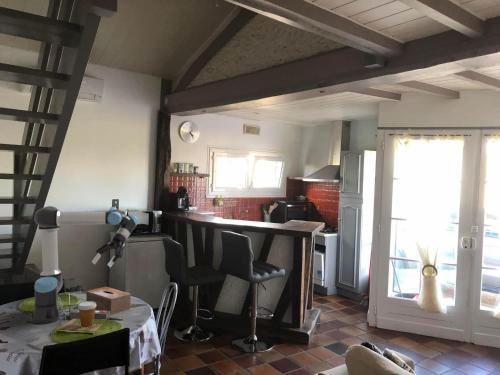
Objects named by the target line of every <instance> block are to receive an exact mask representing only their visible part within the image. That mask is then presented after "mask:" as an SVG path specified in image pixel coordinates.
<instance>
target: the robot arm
mask: <svg viewBox="0 0 500 375" xmlns="http://www.w3.org/2000/svg"><path fill="white" fill-rule="evenodd" d="M33 218H34V221H35V224H36V225H37V226H38V230H39V231H40V232H41V250H42V251H41V252H42V253H41V254H42V255H41V256H42V270H41V272H40V274H39V277H40V278H38V279H37V280H36V281H35V282H34V286H33V287H34V302H33V303H34V305H33V306H34V308H33V310H32V312H31V316H30V322H31V323H32V324H35V325H36V324H37V325H43V324H45V325H46V324H51V323H55V322H57V321H58V320H60V318H61V313H60V311H59V307H58V293H59V292H60V291H61V289H62V288H63V285H64V280H63V277H62V271H61V270H60V269H59V249H58V248H59V247H58V246H59V244H58V231H59V230H60V226H61V225H64V226H65V225H67V226H69V225H111V226H112V225H113V226H115V225H116V226H117V225H118V226H120V227H119V229H118V230H117V231H116V233H115V234H114V236H112V240H111V241H110V240H107V241H106V242H105V243H104V244H103V245H101V246H100V247H99V248H98V249H96V250H95V252H96V254H95V256H94V258H92V261H91V263H92V264H93V265H96V264H97V262H98V261H99V260H100V258H101V256H102V255H103V254H105V253H107V252H108V251H111V250H114V255H113V256H112V257H111V259H110V261H109V262H108V263H107V266H108V267H109V268H112V266H113V265H114V263H116V261H117V260H118V259H119V258H120V259H121V258H122V257H123V253H124V249H125V247H126V244H125V242H126V240H128V238H129V237H130V235H131V234H132V232H133V231H134V230H135V229H136V227H137V225H138V224H139V221H140V220H139V218H138V217H137V216H135V215H133V214H129V215H127V214H125V213H123V212H122V211H121V210H119V209H118V208H117V207H115V206H111V207H110V208H109V210H108V211H61V210H59V208H57V207H55V206H52V205H51V206H50V205H48V206H45V207H42V208H39V209H38V210H36V212H35V213H34V217H33Z"/></svg>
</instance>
